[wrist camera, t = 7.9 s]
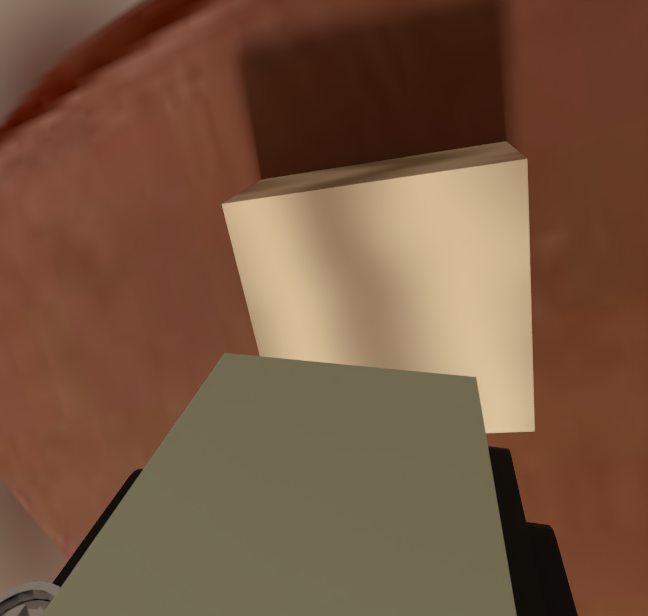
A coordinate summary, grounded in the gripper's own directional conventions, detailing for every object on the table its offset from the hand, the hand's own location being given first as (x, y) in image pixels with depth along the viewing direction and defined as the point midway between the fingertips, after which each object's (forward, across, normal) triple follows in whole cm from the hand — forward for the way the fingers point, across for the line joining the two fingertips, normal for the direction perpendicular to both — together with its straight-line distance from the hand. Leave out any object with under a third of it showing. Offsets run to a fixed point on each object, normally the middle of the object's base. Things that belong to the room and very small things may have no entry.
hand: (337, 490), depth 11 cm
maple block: (+14, 0, 0) cm, 14 cm away
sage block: (+1, 0, 0) cm, 1 cm away
